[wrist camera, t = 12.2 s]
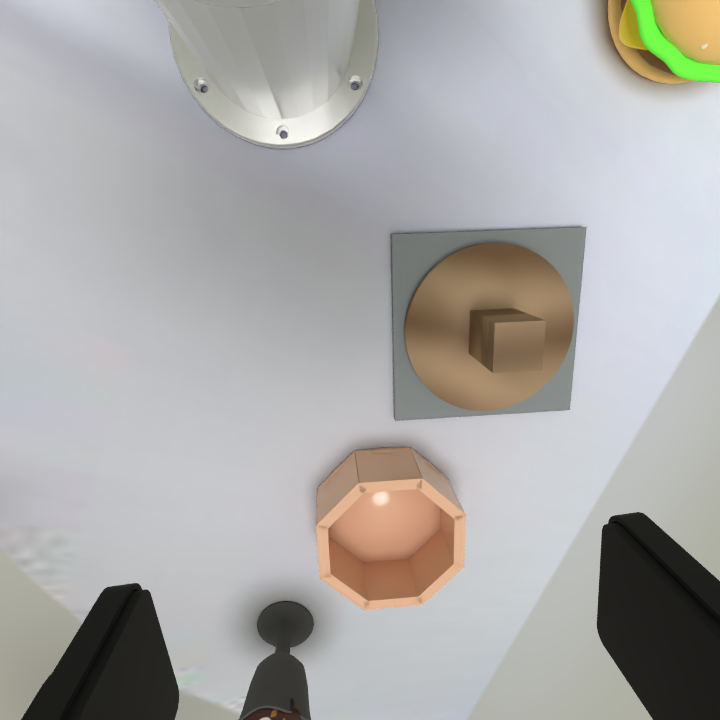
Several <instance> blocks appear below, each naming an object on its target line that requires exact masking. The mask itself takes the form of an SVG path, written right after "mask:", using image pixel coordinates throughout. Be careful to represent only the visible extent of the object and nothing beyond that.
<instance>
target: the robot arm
mask: <svg viewBox="0 0 720 720" xmlns="http://www.w3.org/2000/svg"><path fill="white" fill-rule="evenodd" d="M154 1H155V2H156V3H157V5H158V6H159V8H160V9H161V10H162V12H163V13H164V14H165V16H166V17H167V19H168V20H169V28H170V38H171V43H172V48H173V53H174V57H175V60H176V63H177V65H178V68H179V70H180V73H181V75H182V78H183V80H184V82H185V83H186V85H187V87H188V88H189V90H190V92H191V93H192V95H193V97H194V98H195V100H196V101H197V102H198V103H199V104H200V106H201V107H202V108H203V109H204V110H205V111H206V112H207V114H208V115H209V116H210V117H211V118H212V119H213V120H215V121H216V122H217V123H218V124H219V125H220V126H222V127H223V128H224V129H226V130H227V131H229V132H230V133H232V134H233V135H235V136H236V137H239V138H241V139H243V140H245V141H248V142H250V143H252V144H255V145H260V146H264V147H268V148H284V149H290V148H296V147H301V146H307V145H310V144H312V143H314V142H317V141H319V140H322V139H324V138H326V137H327V136H329V135H330V134H332V133H333V132H335V131H336V130H337V129H339V128H340V127H341V126H342V125H343V124H344V123H345V122H346V121H347V120H348V119H349V118H350V117H351V116H352V115H353V113H354V112H355V110H356V109H357V107H358V106H359V104H360V103H361V101H362V100H363V98H364V96H365V94H366V91H367V89H368V86H369V84H370V82H371V79H372V75H373V71H374V68H375V64H376V57H377V50H378V19H377V14H376V8H375V3H374V0H154ZM353 83H356V84H357V85H358V86H359V88H358V90H353V89H352V88H351V85H352V84H353ZM203 86H207V87H208V90H207V92H206V93H202V92H201V88H202V87H203ZM281 132H287V133H288V136H287V138H286V139H282V138H281V137H280V134H281ZM601 542H602V543H601V559H600V579H599V596H598V614H597V616H598V617H597V629H598V633H599V637H600V639H601V641H602V643H603V645H604V647H605V648H606V650H607V651H608V653H609V654H610V656H611V657H612V659H613V660H614V662H615V663H616V665H617V666H618V668H619V669H620V671H621V672H622V674H623V675H624V677H625V678H626V680H627V681H628V683H629V684H630V685H631V687H632V689H633V690H634V692H635V693H636V695H637V696H638V698H639V699H640V701H641V702H642V704H643V705H644V707H645V708H646V710H647V711H648V713H649V714H650V715H651V717H652V718H653V720H720V581H719V580H718V579H717V578H716V577H714V576H713V575H712V574H711V573H710V572H709V571H708V570H707V569H705V568H704V567H703V566H702V565H701V564H700V563H699V562H698V561H697V560H695V559H694V558H693V557H692V556H691V555H690V554H689V553H688V552H686V551H685V550H684V549H683V548H682V547H681V546H680V545H679V544H677V543H676V542H675V541H674V540H673V539H672V538H671V537H670V536H669V535H667V534H666V533H665V532H664V531H663V530H662V529H661V528H660V527H659V526H657V525H656V524H655V523H654V522H653V521H652V520H651V519H650V518H648V517H647V516H646V515H645V514H643V513H639V512H637V513H629V514H622V515H615V516H612V517H611V518H610V519H609V523H608V524H606V525H604V526H603V529H602V541H601ZM178 703H179V690H178V685H177V682H176V678H175V675H174V672H173V668H172V665H171V661H170V658H169V655H168V651H167V648H166V644H165V641H164V638H163V634H162V631H161V627H160V624H159V621H158V617H157V614H156V610H155V607H154V604H153V600H152V597H151V594H150V592H149V591H148V590H142V588H141V586H140V585H139V584H138V583H133V584H126V585H119V586H112V587H107V588H105V589H104V590H103V592H102V593H101V594H100V596H99V598H98V599H97V601H96V602H95V604H94V606H93V607H92V609H91V611H90V612H89V614H88V616H87V617H86V619H85V620H84V622H83V624H82V626H81V627H80V629H79V630H78V632H77V634H76V635H75V637H74V639H73V640H72V642H71V643H70V645H69V647H68V648H67V650H66V652H65V653H64V655H63V656H62V658H61V660H60V661H59V663H58V665H57V666H56V668H55V669H54V672H53V673H52V674H51V675H50V676H49V677H48V679H47V680H46V681H45V683H44V684H43V685H42V687H41V689H40V690H39V692H38V693H37V695H36V696H35V698H34V700H33V701H32V703H31V705H30V706H29V708H28V710H27V711H26V713H25V714H24V716H23V718H22V719H21V720H174V719H175V716H176V713H177V709H178Z"/></svg>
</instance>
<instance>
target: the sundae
mask: <svg viewBox="0 0 720 720" xmlns="http://www.w3.org/2000/svg"><path fill="white" fill-rule="evenodd" d="M313 625H314V624H313V618H312V615H311V614H310V613H309V611H308V610H307V609H306V608H304V607H303V606H301V605H299V604H297V603H293V602H280V603H275V604H273V605H271V606H269V607H268V608H266V609H265V610H264V611H263V612H262V613H261V615H260V616H259V619H258V623H257V628H258V632H259V635H260V636H261V637H262V639H263V640H265V641H266V642H267V643H269V644H271V645H273V646H275V647H276V652H275V653H274V654H272V655H270V656H269V657H267V658H266V659H264V660H263V661H262V662H261V663H260V664H259V665H258V667H257V669H256V671H255V674H254V676H253V679H252V681H251V684H250V687H249V690H248V694H247V697H246V700H245V704H244V707H243V710H242V713H241V716H240V719H239V720H311V717H310V711H309V698H308V686H307V680H306V674H305V669H304V666H303V664H302V663H301V662H300V661H299V660H297V659H296V658H295V657H294V656H292V655H291V654H290V647H294V646H297V645H299V644H301V643H302V642H304V641H305V640H306V639H307V638H308V637H309V635H310V634H311V632H312V629H313Z"/></svg>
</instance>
